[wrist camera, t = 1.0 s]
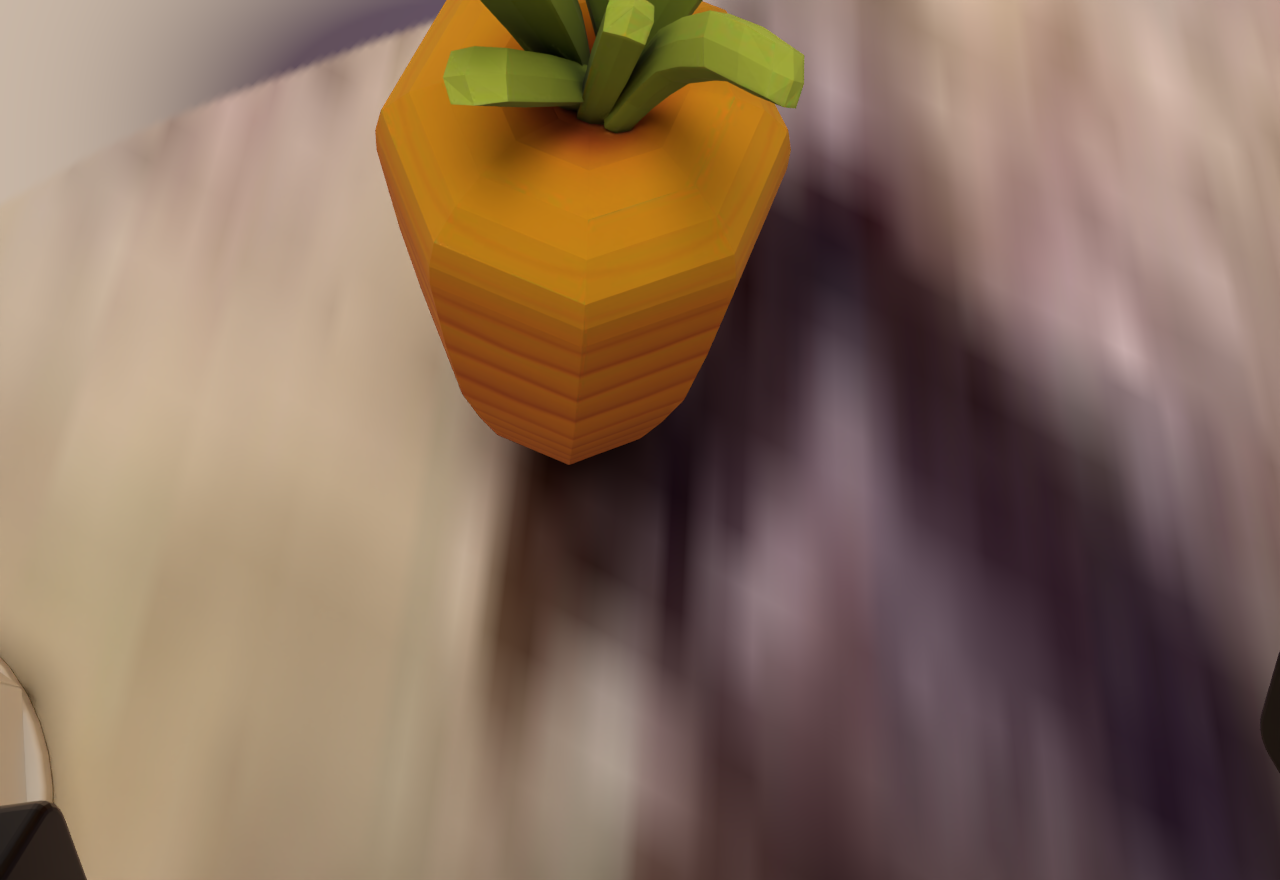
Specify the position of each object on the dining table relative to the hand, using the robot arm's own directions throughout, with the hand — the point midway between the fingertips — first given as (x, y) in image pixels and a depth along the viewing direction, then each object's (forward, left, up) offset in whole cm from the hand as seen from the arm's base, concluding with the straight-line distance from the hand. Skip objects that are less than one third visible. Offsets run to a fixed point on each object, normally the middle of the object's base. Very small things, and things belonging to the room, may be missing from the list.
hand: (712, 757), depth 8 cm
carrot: (+5, -6, -13) cm, 15 cm away
